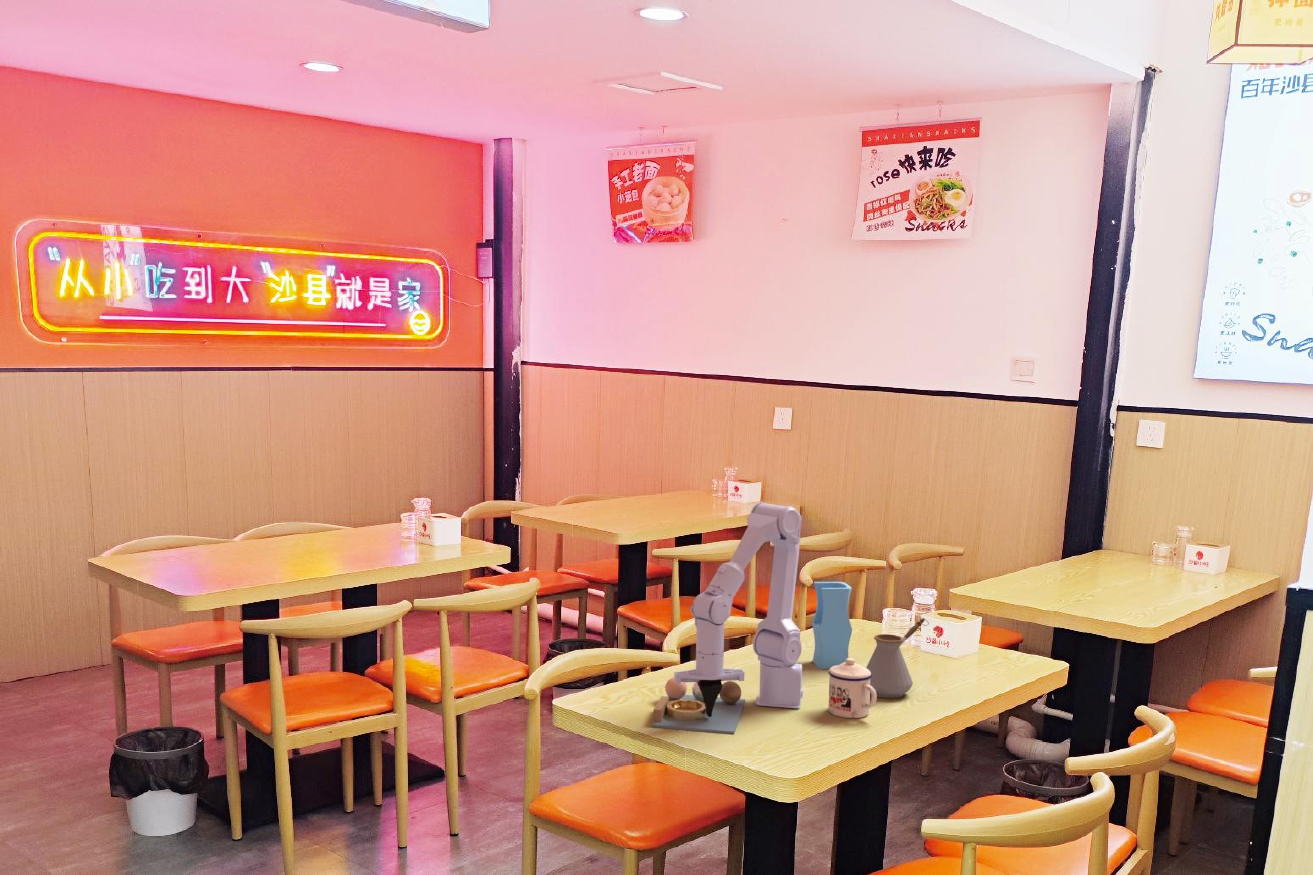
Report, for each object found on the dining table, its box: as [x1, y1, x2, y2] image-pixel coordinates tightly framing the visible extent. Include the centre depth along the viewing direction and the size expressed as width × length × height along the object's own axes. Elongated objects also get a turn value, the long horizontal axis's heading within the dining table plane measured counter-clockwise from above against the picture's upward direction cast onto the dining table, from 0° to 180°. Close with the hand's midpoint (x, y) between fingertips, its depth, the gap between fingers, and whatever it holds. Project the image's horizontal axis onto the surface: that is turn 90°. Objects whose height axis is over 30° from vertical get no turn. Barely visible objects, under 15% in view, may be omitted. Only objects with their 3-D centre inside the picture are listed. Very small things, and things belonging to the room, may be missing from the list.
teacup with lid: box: [828, 657, 878, 719], centre depth 229 cm, size 12×9×12 cm
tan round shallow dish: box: [666, 699, 707, 721], centre depth 226 cm, size 8×8×2 cm
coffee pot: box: [865, 617, 930, 699], centre depth 248 cm, size 21×12×15 cm, turn 135°
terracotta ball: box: [664, 677, 688, 700], centre depth 236 cm, size 5×5×5 cm
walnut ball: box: [718, 681, 742, 704], centre depth 234 cm, size 5×5×5 cm
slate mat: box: [650, 694, 746, 735], centre depth 228 cm, size 17×21×3 cm
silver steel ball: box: [691, 682, 704, 702], centre depth 235 cm, size 5×5×5 cm
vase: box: [811, 581, 853, 670], centre depth 266 cm, size 8×8×20 cm
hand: (708, 715), depth 223 cm, fingers closed, pressing on tan round shallow dish
